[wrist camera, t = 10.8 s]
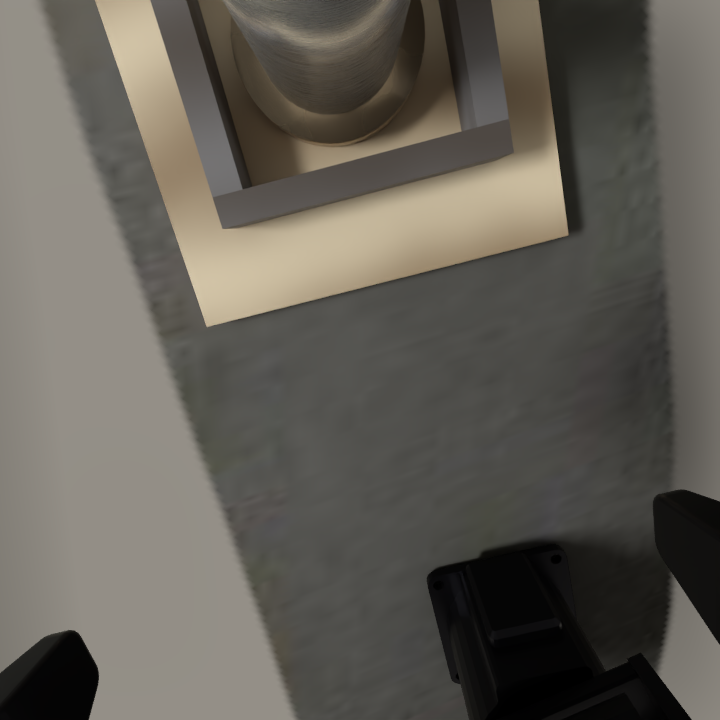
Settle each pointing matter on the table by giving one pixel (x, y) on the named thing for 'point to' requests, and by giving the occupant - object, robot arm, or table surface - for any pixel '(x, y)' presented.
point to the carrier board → (342, 157)
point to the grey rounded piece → (328, 63)
